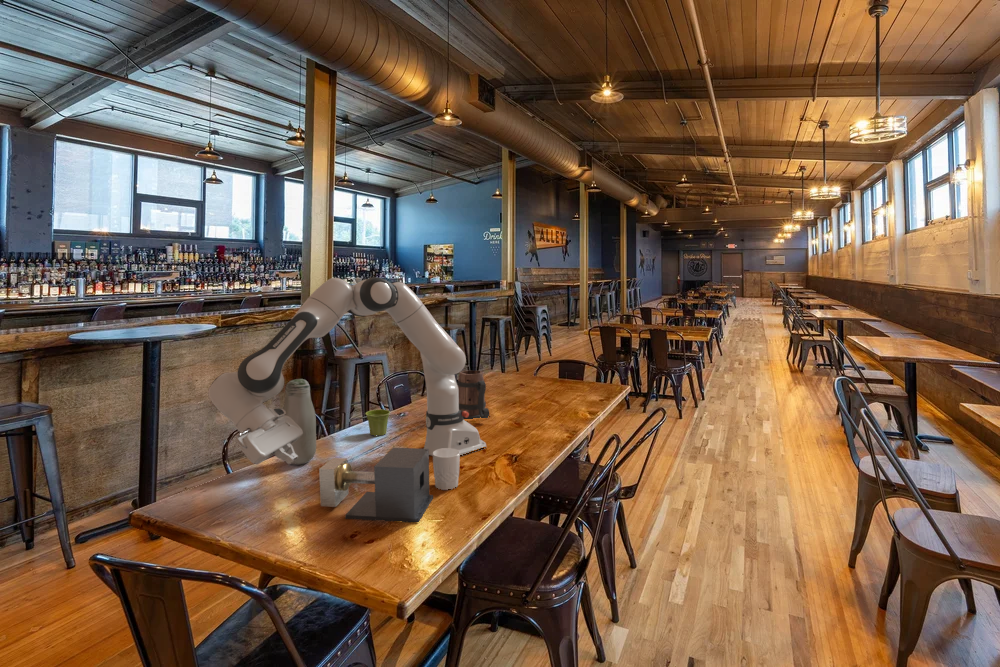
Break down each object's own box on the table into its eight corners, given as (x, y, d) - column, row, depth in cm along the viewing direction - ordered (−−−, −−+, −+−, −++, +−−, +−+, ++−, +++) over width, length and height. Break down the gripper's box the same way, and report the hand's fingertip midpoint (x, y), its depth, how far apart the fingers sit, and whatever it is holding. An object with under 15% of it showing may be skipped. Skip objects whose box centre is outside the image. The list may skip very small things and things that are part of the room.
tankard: (446, 414, 222) (445, 370, 220) (479, 409, 230) (479, 367, 228) (468, 427, 202) (468, 379, 200) (504, 421, 210) (504, 375, 208)
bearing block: (345, 518, 124) (343, 465, 123) (366, 495, 138) (365, 446, 136) (418, 522, 122) (417, 468, 120) (433, 498, 136) (432, 449, 134)
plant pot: (394, 431, 197) (394, 410, 196) (384, 438, 188) (383, 416, 187) (373, 429, 199) (372, 408, 198) (361, 436, 190) (360, 414, 189)
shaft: (320, 506, 128) (319, 468, 127) (334, 493, 136) (333, 457, 135) (402, 510, 125) (401, 472, 124) (412, 496, 133) (411, 461, 132)
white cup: (433, 480, 148) (433, 448, 147) (460, 479, 148) (459, 447, 147) (432, 491, 140) (431, 457, 139) (460, 490, 141) (459, 456, 140)
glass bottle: (298, 470, 156) (294, 383, 153) (277, 465, 161) (273, 380, 158) (323, 460, 165) (320, 378, 162) (302, 455, 170) (299, 375, 167)
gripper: (240, 427, 121) (279, 467, 121) (286, 406, 142) (319, 441, 141) (224, 444, 122) (263, 484, 122) (272, 421, 143) (305, 455, 142)
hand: (293, 460), depth 132 cm, fingers closed
